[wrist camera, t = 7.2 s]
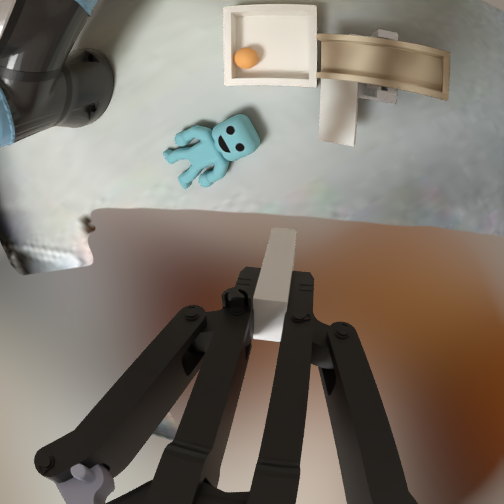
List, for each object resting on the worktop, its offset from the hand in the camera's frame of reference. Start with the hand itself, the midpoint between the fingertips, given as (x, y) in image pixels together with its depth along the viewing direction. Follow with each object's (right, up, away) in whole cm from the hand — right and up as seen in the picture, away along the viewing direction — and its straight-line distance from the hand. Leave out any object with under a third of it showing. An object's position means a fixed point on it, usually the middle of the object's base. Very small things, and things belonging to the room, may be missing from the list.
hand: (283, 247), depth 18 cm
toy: (-8, +16, +24) cm, 30 cm away
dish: (+1, +28, +14) cm, 31 cm away
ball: (-3, +25, +13) cm, 29 cm away
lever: (+13, +18, +8) cm, 23 cm away
